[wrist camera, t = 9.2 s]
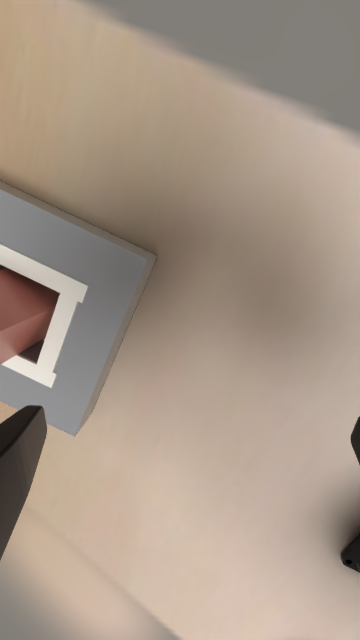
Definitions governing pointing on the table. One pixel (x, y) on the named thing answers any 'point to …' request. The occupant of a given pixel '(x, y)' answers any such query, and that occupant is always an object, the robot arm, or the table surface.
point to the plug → (23, 312)
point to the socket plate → (68, 305)
